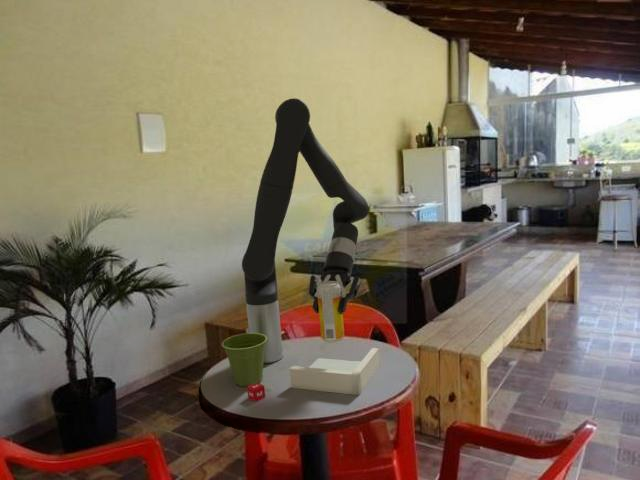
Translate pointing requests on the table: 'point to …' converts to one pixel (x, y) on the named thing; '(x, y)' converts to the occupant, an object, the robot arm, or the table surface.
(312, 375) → the white corner tray
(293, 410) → the table surface
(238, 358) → the plant pot
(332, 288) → the beer can
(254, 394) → the dice
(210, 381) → the table surface
